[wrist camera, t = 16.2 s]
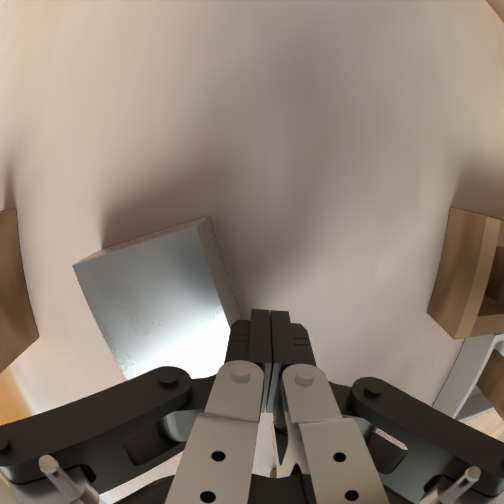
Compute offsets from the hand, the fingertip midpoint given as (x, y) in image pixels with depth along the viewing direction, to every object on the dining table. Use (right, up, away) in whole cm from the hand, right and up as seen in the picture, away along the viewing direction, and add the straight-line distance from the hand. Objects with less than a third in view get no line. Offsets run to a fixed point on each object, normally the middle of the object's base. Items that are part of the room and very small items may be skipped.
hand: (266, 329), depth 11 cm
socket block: (+12, +2, +1) cm, 13 cm away
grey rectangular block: (-4, +1, +2) cm, 5 cm away
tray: (+17, -5, +3) cm, 18 cm away
